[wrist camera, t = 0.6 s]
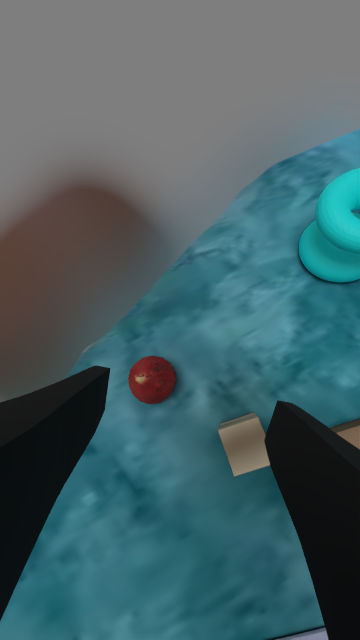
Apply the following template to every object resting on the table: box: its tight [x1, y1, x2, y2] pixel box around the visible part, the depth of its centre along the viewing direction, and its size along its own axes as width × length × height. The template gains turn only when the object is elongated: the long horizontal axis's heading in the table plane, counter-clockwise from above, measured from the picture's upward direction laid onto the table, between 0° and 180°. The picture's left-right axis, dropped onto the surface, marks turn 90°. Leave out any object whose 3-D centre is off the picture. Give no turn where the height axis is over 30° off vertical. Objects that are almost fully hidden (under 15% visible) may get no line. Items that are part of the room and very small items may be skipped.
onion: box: [128, 356, 176, 404], centre depth 30 cm, size 6×6×8 cm
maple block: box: [218, 412, 270, 476], centre depth 27 cm, size 4×4×5 cm
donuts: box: [299, 168, 360, 282], centre depth 28 cm, size 10×10×10 cm
